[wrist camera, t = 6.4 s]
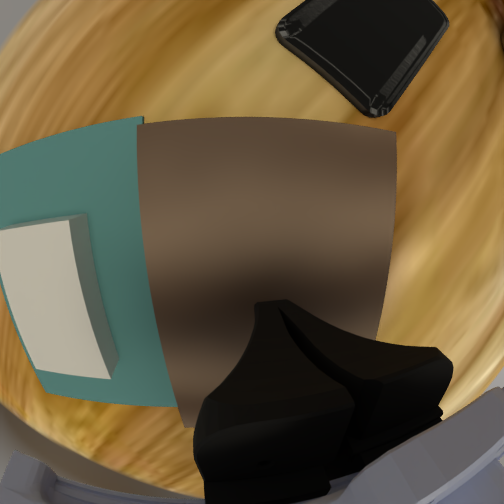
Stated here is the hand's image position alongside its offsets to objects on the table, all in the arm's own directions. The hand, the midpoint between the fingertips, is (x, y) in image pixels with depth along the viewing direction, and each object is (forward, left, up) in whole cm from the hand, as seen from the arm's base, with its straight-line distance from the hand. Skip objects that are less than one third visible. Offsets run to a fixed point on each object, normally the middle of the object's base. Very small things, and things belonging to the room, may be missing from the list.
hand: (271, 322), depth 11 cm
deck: (0, -1, -4) cm, 4 cm away
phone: (+17, -9, -4) cm, 20 cm away
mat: (0, +11, -4) cm, 12 cm away
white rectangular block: (0, +12, -3) cm, 12 cm away
